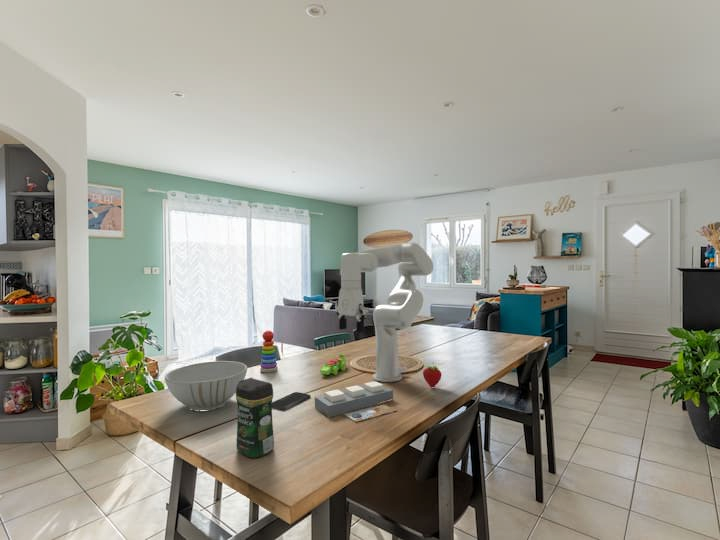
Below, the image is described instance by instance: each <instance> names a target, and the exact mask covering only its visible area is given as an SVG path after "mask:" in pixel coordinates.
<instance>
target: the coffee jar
mask: <svg viewBox="0 0 720 540" xmlns="http://www.w3.org/2000/svg"><path fill="white" fill-rule="evenodd" d="M273 387H274V386H273V384H272V382H269V381H264V380H260V379H257V378H253V377H248V378H245V379H244V380H241V381H239V383H238V384H237V387H236V393H235V400H236V406H237V409H236V411H237V416H236V417H237V419H236V421H237V422H236V426H237V427H236V450H237V452H238V453H240V454H241V455H243V456H246V457H248V458H252V459H255V458H260V457H264V456H266V455H268V454H270V453H271V452H272V451H273V450H274V448H275V437H274V436H275V435H274V425H273V408H272V402H273V399H274V389H273Z"/></svg>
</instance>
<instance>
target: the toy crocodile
mask: <svg viewBox="0 0 720 540" xmlns="http://www.w3.org/2000/svg"><path fill="white" fill-rule="evenodd" d="M346 369H347V363H346V357H345V354H339V355H338V358H335V359H331V360H330V361H328V362H326V363H325V364H323V365H322V367H321V369H320V371H319V373H320V374H321V375H326V376H327V375H330V374H332V375H333V374H334V375H335V376H336V375H338V372H339V370H340V371H343V370H344V371H346Z"/></svg>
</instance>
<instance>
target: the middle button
mask: <svg viewBox="0 0 720 540" xmlns="http://www.w3.org/2000/svg"><path fill="white" fill-rule="evenodd" d="M344 390H345V394H347V395H349V396H350V397H356V396H360V395H365V389H364V388H362V387H361V386H360V385H352V386H348V387H344Z"/></svg>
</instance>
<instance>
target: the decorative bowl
mask: <svg viewBox="0 0 720 540" xmlns="http://www.w3.org/2000/svg"><path fill="white" fill-rule="evenodd" d="M247 373H248V366H247V365H246V364H245V363H243V362H239V361H230V360H215V361H213V360H212V361H203V362H196V363H191V364H187V365H183V366H180V367H176V368H174V369H171V370H169V371H168V372H167V373H165V375H164V381H165V384H166V386H167V388H168V390H169V392H170V394H171V395H172V396H173V397H174V398H175V399H176V400H177V401H178V402H180V403H181V404H183V405H184V406H187V407H188V409H189V408H190V409H192V410H191V411H193V410H199V411H198V412H201V411H200V410H210V411H213V410H212V409H214V410H217V409H216V408H218V409H220V408H222V407H224V406H225V405H226V404H227V403H228V401H229V400H230V399H231V398H233V397H234V396H235V395H236V387H237V384H238V383H239V381H241V380H245V379H246V376H247ZM223 405H224V406H223ZM221 406H222V407H221ZM219 407H220V408H219ZM190 409H189V410H190Z"/></svg>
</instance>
